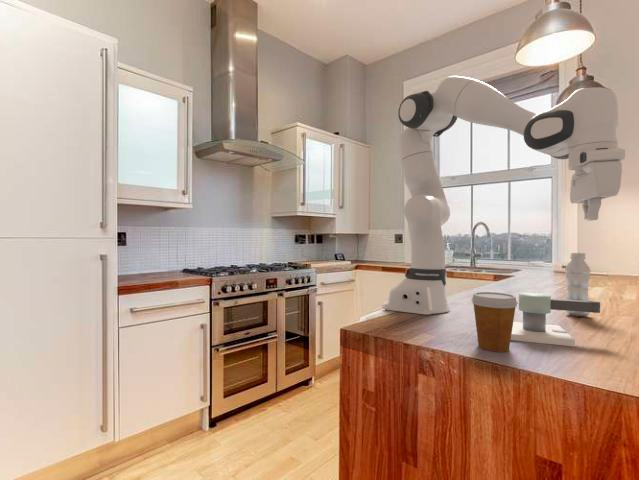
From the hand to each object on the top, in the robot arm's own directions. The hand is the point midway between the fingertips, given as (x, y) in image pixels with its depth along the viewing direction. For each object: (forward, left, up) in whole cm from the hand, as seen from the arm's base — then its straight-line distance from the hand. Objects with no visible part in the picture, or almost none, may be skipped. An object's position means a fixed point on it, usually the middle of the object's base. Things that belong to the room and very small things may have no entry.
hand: (591, 220), depth 80 cm
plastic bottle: (+7, +36, -29) cm, 47 cm away
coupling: (-5, +6, -23) cm, 24 cm away
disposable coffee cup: (-20, -9, -29) cm, 37 cm away
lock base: (-10, +6, -29) cm, 31 cm away
